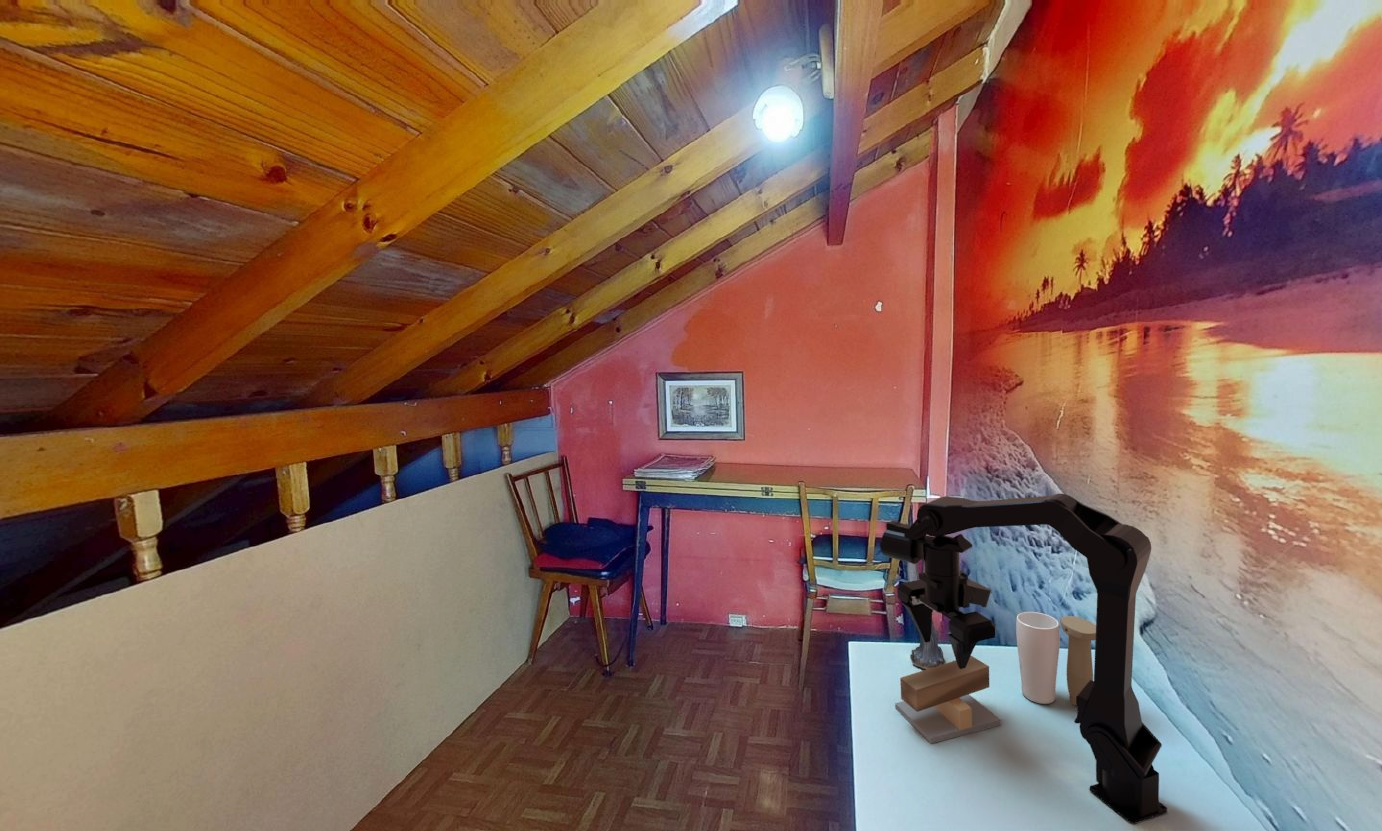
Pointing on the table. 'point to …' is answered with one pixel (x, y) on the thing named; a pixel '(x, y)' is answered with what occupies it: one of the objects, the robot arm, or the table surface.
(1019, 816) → the table surface
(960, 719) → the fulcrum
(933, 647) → the antler
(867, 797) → the table surface
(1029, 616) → the drinking glass
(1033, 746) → the table surface
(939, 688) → the batten
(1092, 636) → the handle
